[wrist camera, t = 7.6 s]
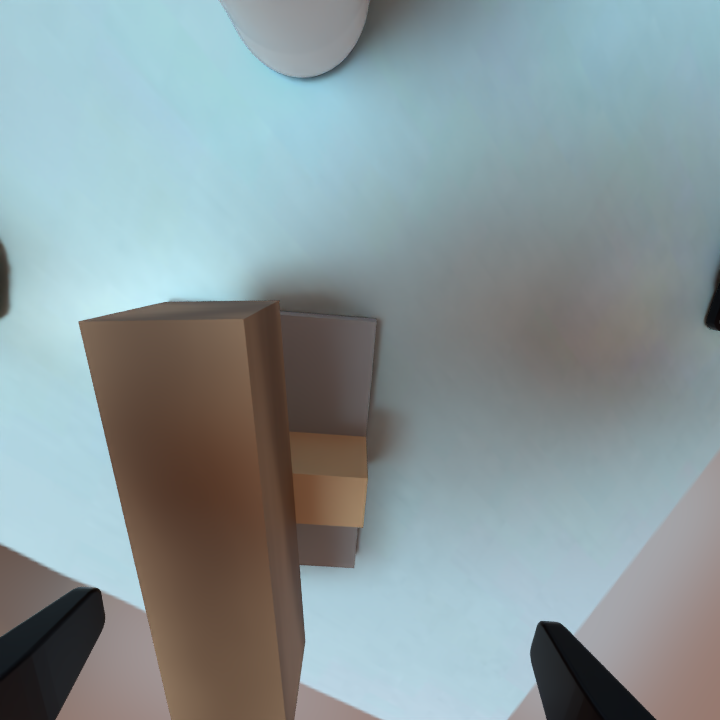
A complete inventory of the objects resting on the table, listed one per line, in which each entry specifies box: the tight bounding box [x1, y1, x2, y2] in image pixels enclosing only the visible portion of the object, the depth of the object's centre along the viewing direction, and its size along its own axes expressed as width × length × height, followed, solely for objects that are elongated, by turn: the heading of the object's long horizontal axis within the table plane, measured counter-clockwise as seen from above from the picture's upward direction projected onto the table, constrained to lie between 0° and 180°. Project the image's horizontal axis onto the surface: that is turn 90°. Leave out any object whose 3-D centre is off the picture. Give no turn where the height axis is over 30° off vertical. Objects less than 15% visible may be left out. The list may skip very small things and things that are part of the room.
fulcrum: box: [280, 311, 377, 568], centre depth 17 cm, size 10×14×4 cm
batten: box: [79, 300, 305, 720], centre depth 13 cm, size 4×16×4 cm, turn 1°
